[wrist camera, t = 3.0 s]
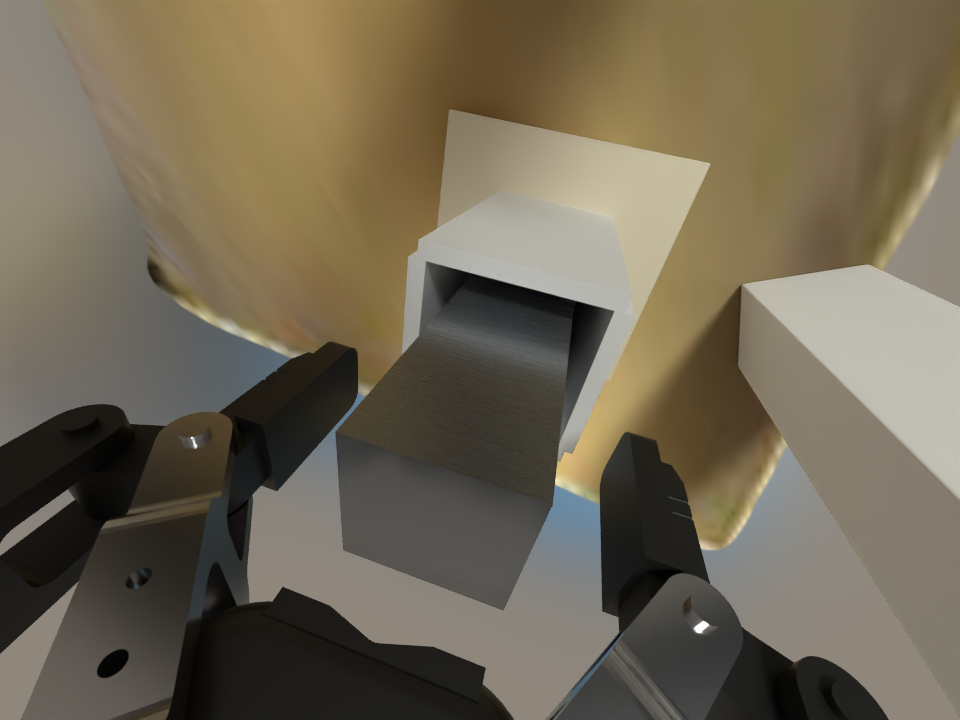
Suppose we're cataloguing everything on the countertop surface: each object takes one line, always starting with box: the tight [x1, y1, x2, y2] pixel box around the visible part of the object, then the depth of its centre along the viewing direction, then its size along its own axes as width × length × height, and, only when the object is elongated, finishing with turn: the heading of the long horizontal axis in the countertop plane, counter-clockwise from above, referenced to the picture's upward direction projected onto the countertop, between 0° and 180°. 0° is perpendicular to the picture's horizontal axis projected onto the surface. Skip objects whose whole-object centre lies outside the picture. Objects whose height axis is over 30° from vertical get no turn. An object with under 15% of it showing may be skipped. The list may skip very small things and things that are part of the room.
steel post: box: [336, 274, 574, 610], centre depth 15 cm, size 5×4×19 cm
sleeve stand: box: [402, 109, 710, 462], centre depth 18 cm, size 14×14×15 cm
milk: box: [738, 265, 960, 716], centre depth 14 cm, size 6×6×22 cm
